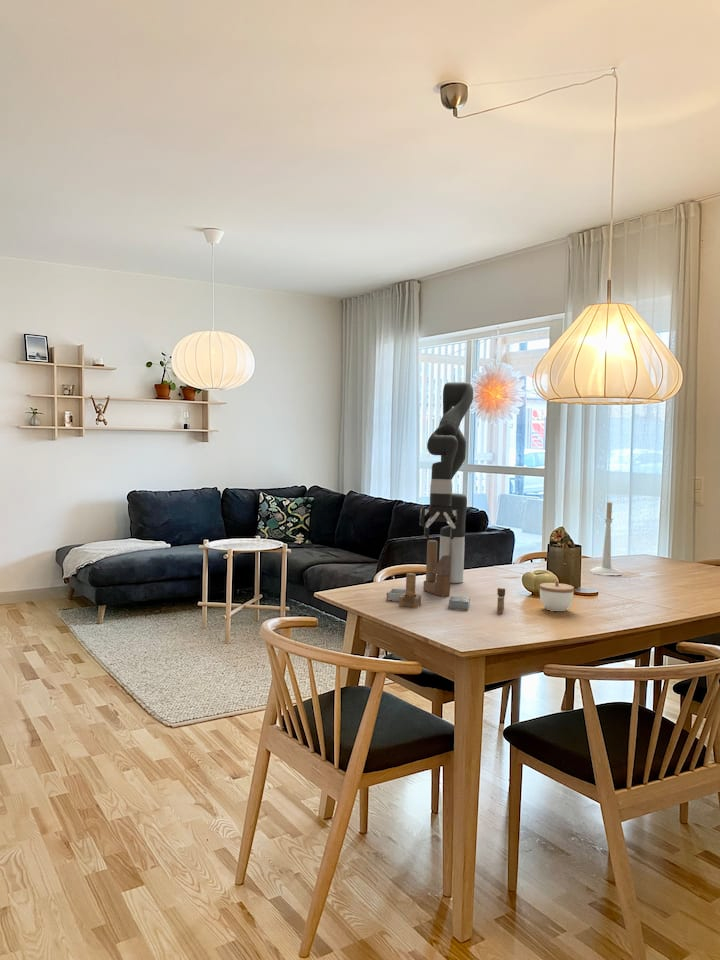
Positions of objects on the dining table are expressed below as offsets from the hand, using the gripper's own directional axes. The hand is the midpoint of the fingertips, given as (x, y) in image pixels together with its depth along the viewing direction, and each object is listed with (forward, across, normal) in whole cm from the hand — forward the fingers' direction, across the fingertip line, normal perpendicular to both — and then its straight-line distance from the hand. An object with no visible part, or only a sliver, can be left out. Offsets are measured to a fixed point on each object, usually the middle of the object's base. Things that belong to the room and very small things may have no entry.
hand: (439, 539), depth 260 cm
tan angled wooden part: (+19, 0, +1) cm, 19 cm away
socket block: (+20, +13, +18) cm, 30 cm away
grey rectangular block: (+20, -3, +21) cm, 29 cm away
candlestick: (+15, -80, -42) cm, 91 cm away
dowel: (+20, +13, +18) cm, 30 cm away
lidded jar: (+20, -34, +24) cm, 46 cm away
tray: (+20, +15, +10) cm, 27 cm away
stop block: (+20, -15, +25) cm, 36 cm away
